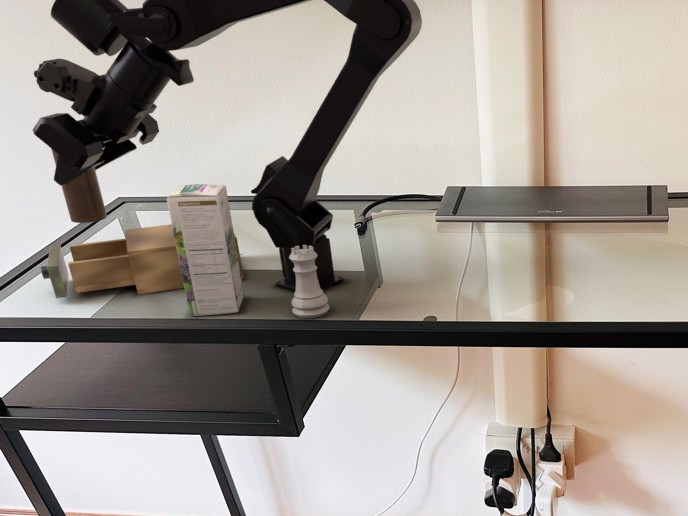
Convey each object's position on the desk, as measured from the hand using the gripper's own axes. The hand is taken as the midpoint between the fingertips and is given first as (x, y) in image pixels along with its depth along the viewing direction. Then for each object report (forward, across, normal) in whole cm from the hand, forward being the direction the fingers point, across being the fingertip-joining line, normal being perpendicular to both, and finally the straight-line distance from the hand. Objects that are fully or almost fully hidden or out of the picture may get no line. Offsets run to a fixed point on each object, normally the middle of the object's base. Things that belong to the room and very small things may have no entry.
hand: (68, 178), depth 104 cm
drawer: (+8, +1, +11) cm, 13 cm away
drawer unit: (+2, -4, +18) cm, 18 cm away
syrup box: (-5, +9, +24) cm, 26 cm away
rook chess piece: (-13, +10, +33) cm, 37 cm away
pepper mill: (+3, 0, +5) cm, 5 cm away
